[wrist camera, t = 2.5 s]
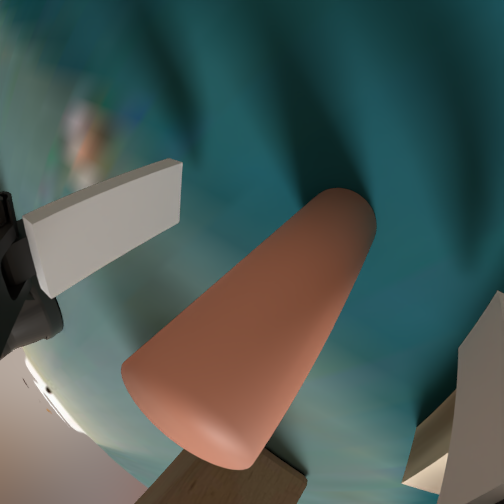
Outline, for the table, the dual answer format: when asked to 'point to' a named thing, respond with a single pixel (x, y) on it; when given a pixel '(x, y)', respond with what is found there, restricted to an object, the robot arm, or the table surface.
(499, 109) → the table surface
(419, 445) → the hole block
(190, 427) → the red peg
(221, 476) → the wooden block
